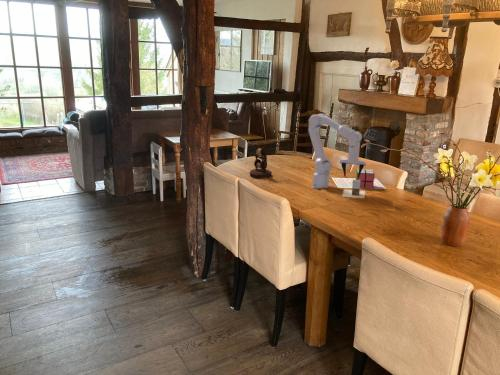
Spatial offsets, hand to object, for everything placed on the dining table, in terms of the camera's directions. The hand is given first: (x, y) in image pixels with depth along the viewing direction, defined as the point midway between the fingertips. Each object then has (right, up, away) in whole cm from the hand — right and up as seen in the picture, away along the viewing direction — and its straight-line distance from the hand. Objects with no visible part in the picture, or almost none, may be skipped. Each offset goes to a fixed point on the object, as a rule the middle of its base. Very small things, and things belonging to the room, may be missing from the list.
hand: (351, 176), depth 237 cm
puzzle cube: (+11, -6, +15) cm, 20 cm away
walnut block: (+2, -10, -2) cm, 10 cm away
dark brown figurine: (-51, +1, +39) cm, 65 cm away
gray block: (+2, -6, -4) cm, 7 cm away
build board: (+1, -10, -1) cm, 11 cm away
